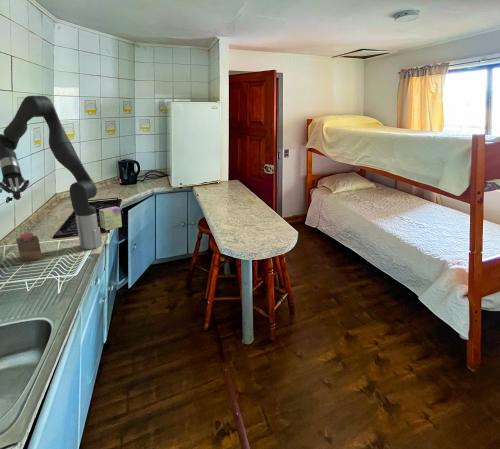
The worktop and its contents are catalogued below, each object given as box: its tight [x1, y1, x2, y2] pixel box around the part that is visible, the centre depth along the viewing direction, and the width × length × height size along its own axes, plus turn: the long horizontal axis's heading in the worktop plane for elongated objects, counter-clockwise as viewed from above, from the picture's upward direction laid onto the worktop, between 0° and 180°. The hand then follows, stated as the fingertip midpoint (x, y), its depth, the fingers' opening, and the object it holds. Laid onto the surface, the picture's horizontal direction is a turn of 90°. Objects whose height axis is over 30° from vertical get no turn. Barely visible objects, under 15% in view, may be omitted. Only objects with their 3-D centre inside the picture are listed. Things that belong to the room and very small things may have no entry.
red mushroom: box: [19, 232, 35, 241], centre depth 154 cm, size 5×5×10 cm
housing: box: [16, 235, 43, 263], centre depth 154 cm, size 8×8×9 cm
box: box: [98, 206, 123, 231], centre depth 197 cm, size 10×6×12 cm, turn 141°
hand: (17, 198), depth 157 cm, fingers closed
